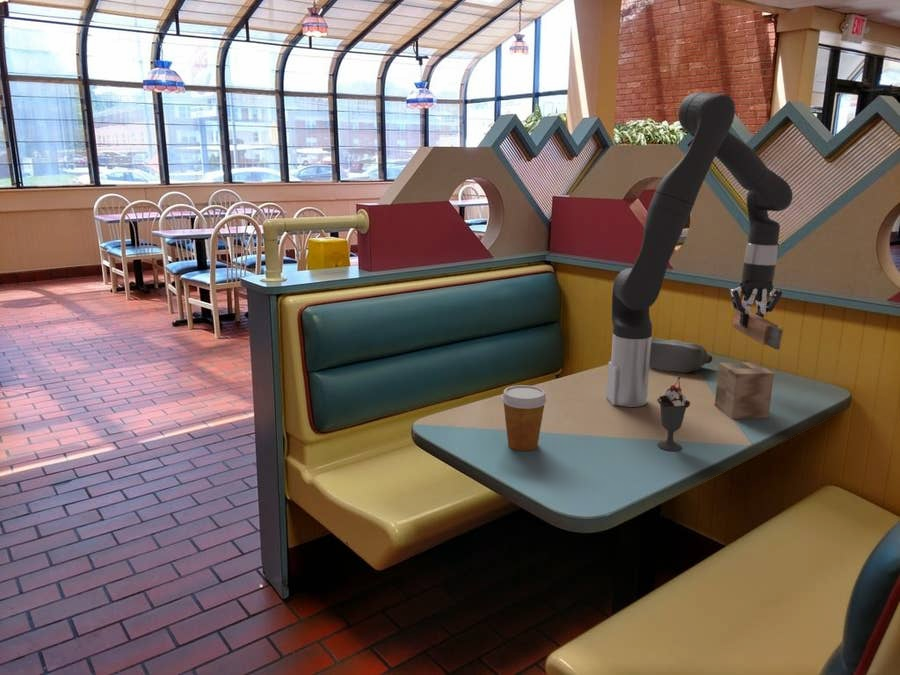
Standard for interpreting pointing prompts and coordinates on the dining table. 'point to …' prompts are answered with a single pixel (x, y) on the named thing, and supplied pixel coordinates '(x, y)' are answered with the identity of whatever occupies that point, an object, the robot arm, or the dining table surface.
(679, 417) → the sundae
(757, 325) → the bed rail
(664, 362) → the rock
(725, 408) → the slotted tan block
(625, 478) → the dining table surface
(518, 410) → the disposable coffee cup
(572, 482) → the dining table surface
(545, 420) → the dining table surface
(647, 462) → the dining table surface
